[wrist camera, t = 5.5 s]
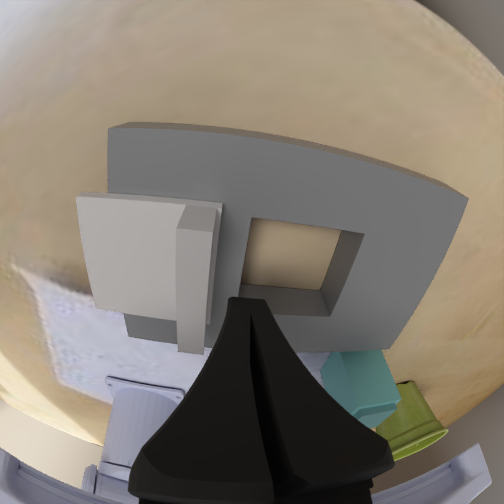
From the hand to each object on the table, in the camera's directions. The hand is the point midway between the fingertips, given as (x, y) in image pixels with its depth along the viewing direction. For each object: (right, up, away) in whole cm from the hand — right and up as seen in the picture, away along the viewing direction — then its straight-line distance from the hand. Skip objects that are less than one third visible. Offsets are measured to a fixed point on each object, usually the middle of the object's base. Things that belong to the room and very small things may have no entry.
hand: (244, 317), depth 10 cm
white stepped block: (-5, +2, +2) cm, 5 cm away
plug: (+9, -7, +11) cm, 16 cm away
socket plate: (+2, +3, +5) cm, 6 cm away
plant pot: (+18, -15, +17) cm, 29 cm away
